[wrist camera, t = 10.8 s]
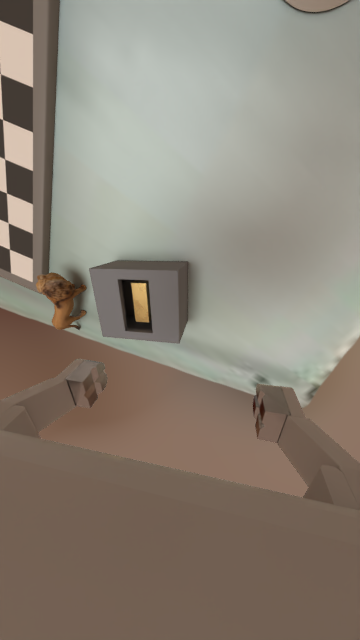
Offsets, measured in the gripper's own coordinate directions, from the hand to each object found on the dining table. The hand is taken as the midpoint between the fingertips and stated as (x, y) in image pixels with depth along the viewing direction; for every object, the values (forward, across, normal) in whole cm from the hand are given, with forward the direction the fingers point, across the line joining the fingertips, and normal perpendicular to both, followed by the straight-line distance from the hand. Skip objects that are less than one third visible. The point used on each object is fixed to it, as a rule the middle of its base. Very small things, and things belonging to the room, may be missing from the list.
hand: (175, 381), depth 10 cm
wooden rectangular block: (+27, +11, +5) cm, 30 cm away
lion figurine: (+28, +29, +8) cm, 41 cm away
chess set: (+30, +49, -22) cm, 62 cm away
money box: (+28, +11, +5) cm, 31 cm away
